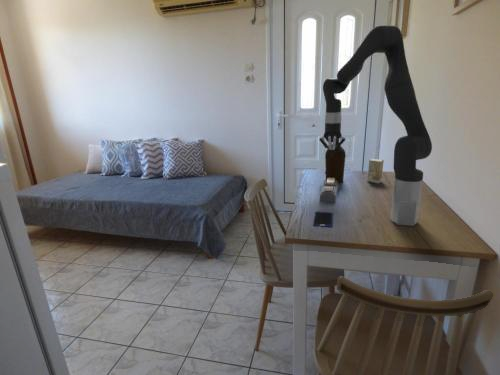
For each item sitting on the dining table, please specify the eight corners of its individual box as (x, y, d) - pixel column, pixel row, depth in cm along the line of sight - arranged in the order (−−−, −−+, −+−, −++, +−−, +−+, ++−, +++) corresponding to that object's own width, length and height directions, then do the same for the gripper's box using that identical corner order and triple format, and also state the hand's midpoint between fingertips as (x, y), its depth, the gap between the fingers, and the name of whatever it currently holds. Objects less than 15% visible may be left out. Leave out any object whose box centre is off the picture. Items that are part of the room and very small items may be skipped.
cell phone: (312, 227, 117) (312, 225, 117) (315, 212, 130) (315, 211, 129) (332, 228, 115) (332, 226, 115) (333, 214, 128) (333, 212, 127)
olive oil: (348, 181, 167) (350, 136, 159) (336, 185, 161) (337, 139, 153) (332, 177, 175) (334, 134, 168) (320, 181, 169) (321, 137, 162)
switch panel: (335, 202, 139) (335, 193, 138) (319, 201, 141) (320, 192, 140) (338, 187, 159) (338, 179, 157) (324, 186, 161) (324, 179, 160)
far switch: (333, 184, 151) (334, 182, 151) (326, 184, 153) (326, 181, 152) (334, 180, 156) (334, 177, 155) (327, 179, 157) (327, 177, 156)
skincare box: (367, 181, 165) (368, 160, 161) (370, 179, 168) (371, 158, 164) (378, 183, 161) (380, 161, 157) (381, 181, 164) (383, 159, 160)
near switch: (332, 191, 140) (332, 188, 140) (324, 190, 141) (324, 187, 141) (333, 189, 145) (333, 186, 145) (325, 188, 146) (325, 186, 146)
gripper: (318, 122, 145) (317, 158, 150) (347, 122, 141) (345, 158, 146) (319, 120, 151) (319, 154, 157) (347, 120, 147) (345, 155, 153)
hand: (331, 156), depth 152 cm, fingers closed
